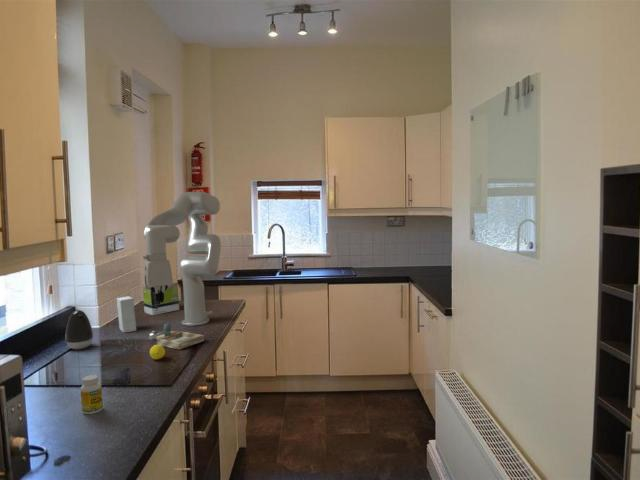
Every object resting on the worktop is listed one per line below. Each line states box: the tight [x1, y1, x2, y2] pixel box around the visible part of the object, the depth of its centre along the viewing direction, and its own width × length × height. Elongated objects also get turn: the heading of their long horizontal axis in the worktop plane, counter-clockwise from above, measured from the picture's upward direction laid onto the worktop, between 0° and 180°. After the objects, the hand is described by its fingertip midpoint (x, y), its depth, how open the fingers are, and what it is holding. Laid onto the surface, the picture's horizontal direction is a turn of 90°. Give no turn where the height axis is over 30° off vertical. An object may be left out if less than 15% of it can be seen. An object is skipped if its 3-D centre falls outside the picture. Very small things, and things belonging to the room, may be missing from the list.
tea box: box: [142, 281, 180, 316], centre depth 262 cm, size 15×10×15 cm
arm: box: [156, 323, 205, 350], centre depth 205 cm, size 19×13×7 cm
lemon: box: [149, 344, 166, 360], centre depth 185 cm, size 7×5×5 cm
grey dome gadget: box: [64, 309, 94, 350], centre depth 202 cm, size 10×10×15 cm
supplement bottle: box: [80, 374, 104, 415], centre depth 141 cm, size 5×5×10 cm
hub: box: [148, 329, 162, 341], centre depth 212 cm, size 5×5×3 cm
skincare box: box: [116, 295, 137, 333], centre depth 227 cm, size 8×6×15 cm
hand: (159, 302), depth 204 cm, fingers closed
